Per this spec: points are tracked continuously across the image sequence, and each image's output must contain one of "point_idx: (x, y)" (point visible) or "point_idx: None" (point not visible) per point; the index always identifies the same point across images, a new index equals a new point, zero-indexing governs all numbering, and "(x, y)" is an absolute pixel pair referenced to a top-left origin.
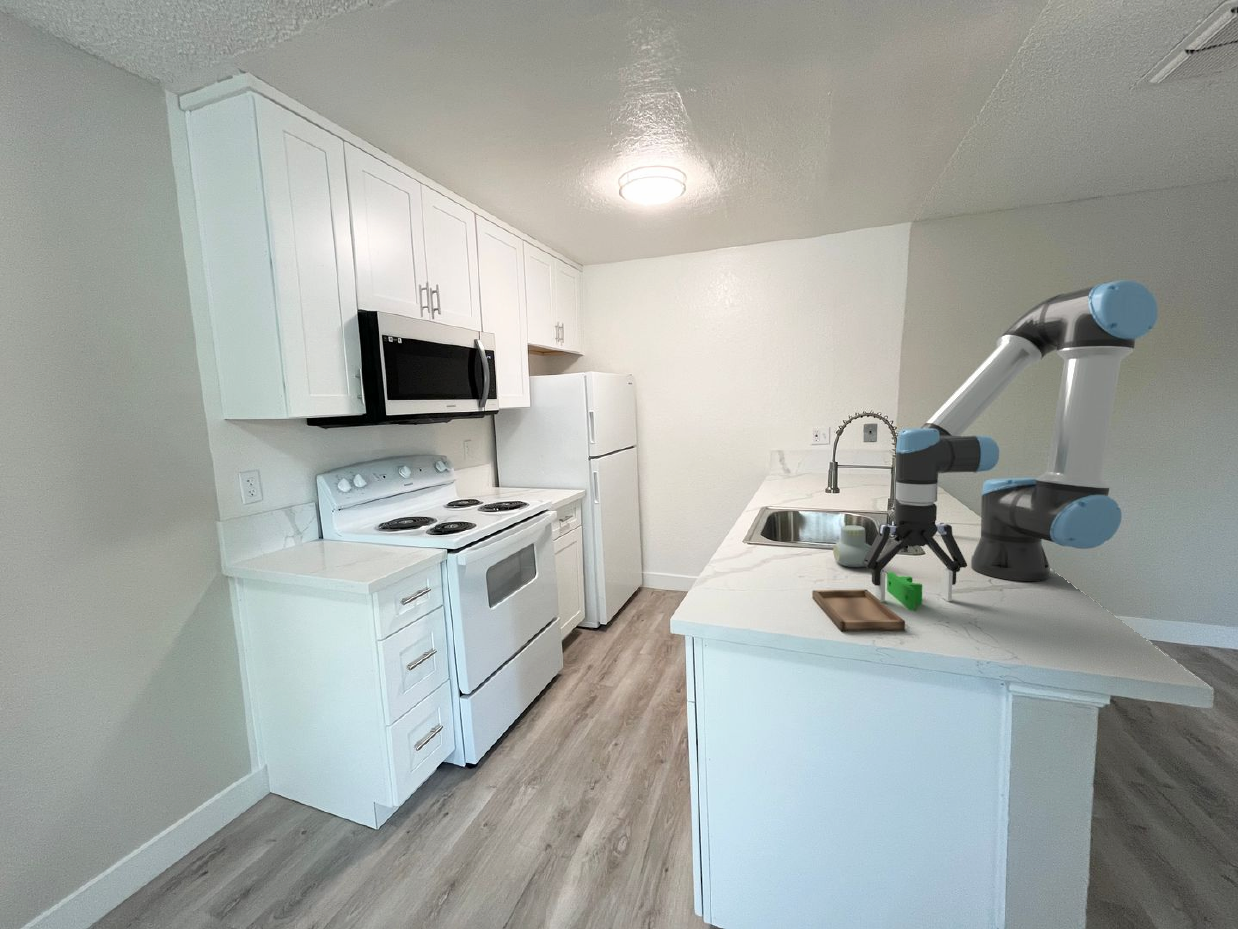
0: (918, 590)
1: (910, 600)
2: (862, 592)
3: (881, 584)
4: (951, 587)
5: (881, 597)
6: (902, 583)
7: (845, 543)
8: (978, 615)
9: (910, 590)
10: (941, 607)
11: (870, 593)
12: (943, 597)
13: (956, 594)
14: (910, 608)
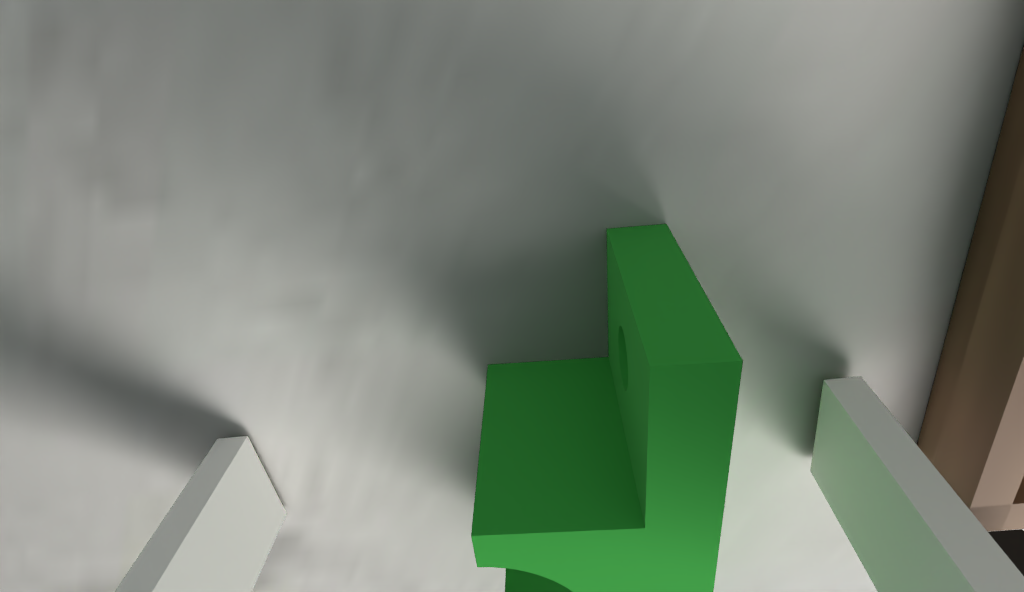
0: (520, 470)
1: (683, 278)
2: (1021, 488)
3: (988, 533)
4: (147, 552)
5: (882, 407)
6: (708, 558)
7: None
8: (10, 155)
9: (732, 353)
10: (329, 319)
11: (998, 452)
12: (268, 492)
13: None
14: (661, 231)
